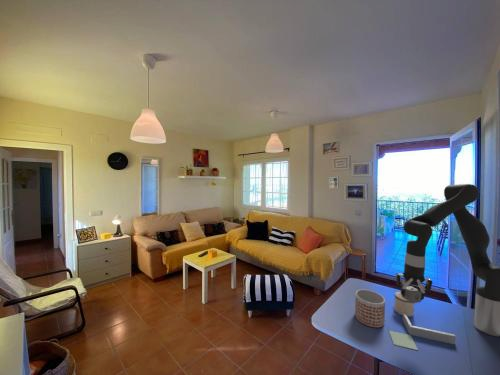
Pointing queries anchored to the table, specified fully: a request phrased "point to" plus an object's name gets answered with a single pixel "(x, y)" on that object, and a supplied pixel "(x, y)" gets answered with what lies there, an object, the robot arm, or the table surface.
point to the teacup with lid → (403, 305)
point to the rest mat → (403, 340)
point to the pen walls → (428, 332)
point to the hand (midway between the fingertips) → (411, 297)
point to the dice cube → (412, 294)
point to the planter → (370, 308)
